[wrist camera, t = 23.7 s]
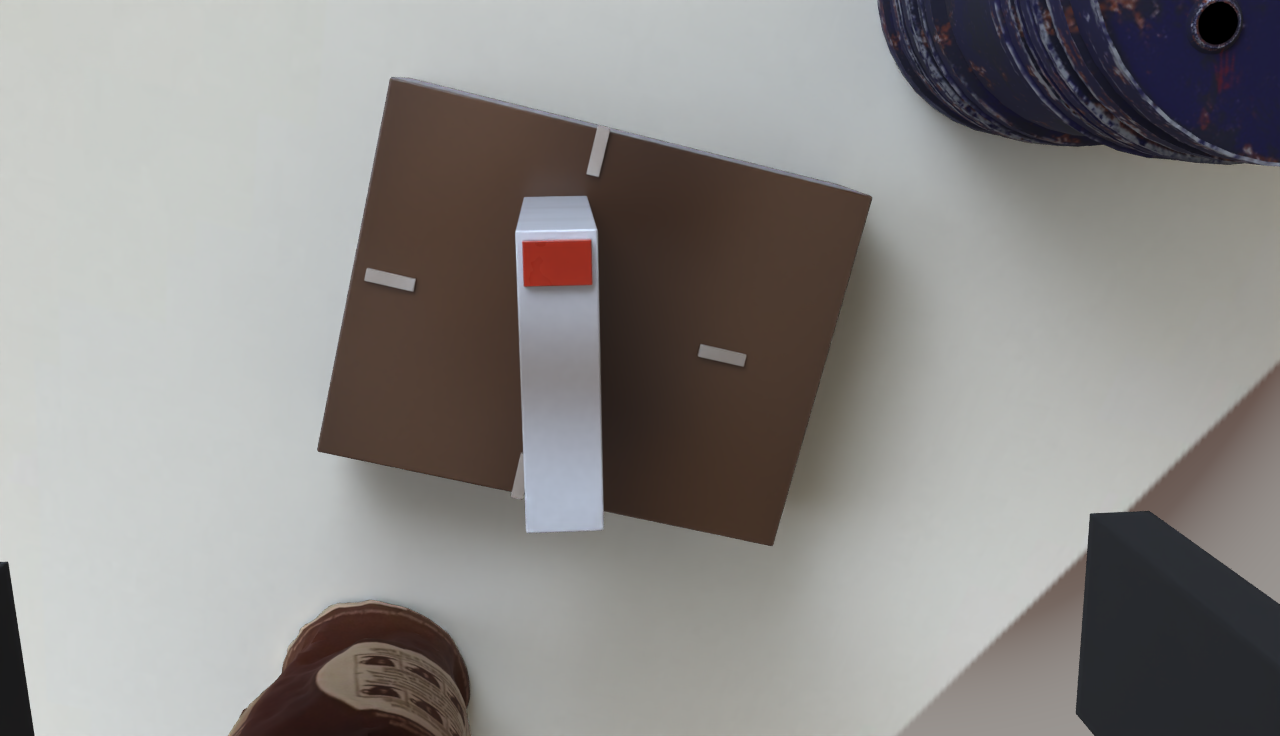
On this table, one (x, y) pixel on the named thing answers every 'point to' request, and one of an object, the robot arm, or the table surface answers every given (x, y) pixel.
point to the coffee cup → (365, 678)
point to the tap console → (628, 303)
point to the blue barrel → (1101, 72)
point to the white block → (560, 364)
